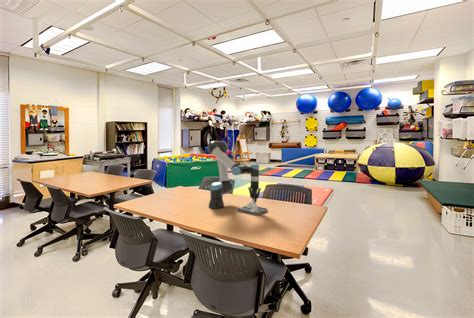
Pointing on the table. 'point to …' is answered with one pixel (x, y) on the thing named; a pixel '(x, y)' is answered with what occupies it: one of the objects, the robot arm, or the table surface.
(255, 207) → the tab
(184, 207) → the table surface
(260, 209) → the switch board
